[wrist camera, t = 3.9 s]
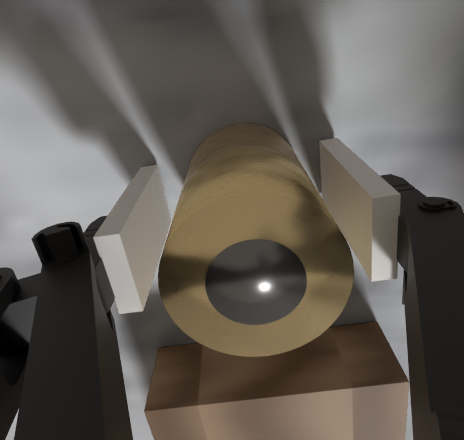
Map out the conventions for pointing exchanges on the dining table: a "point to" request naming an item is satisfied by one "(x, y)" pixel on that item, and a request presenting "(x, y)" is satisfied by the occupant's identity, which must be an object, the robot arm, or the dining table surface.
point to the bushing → (253, 248)
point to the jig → (282, 391)
